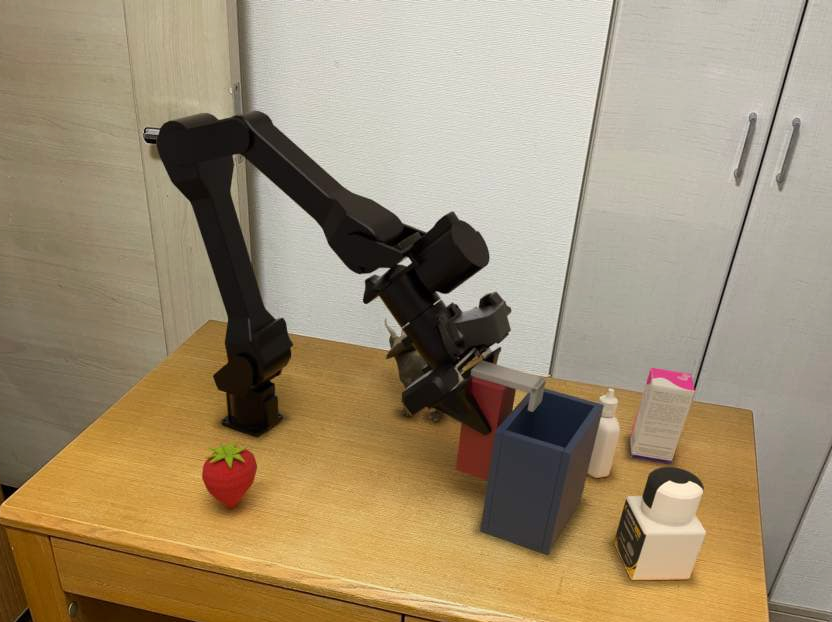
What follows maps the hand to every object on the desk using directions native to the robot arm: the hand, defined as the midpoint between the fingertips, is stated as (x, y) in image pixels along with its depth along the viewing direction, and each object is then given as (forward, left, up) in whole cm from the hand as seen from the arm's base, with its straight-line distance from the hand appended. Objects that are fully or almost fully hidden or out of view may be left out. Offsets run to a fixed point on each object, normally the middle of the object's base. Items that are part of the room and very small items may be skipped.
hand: (497, 423), depth 96 cm
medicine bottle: (+22, -1, -11) cm, 25 cm away
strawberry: (-26, -18, -11) cm, 34 cm away
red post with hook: (0, 0, -7) cm, 7 cm away
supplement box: (+16, +24, -11) cm, 31 cm away
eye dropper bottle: (+10, +15, -11) cm, 21 cm away
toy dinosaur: (-15, +17, -11) cm, 26 cm away
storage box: (+6, 0, -11) cm, 13 cm away
